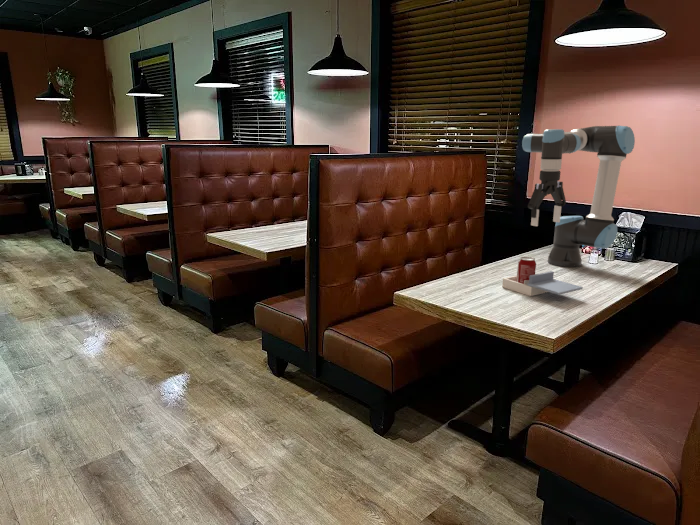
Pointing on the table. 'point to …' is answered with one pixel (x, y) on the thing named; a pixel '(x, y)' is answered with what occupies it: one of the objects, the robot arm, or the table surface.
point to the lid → (551, 283)
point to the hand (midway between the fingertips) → (545, 223)
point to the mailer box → (520, 287)
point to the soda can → (525, 269)
